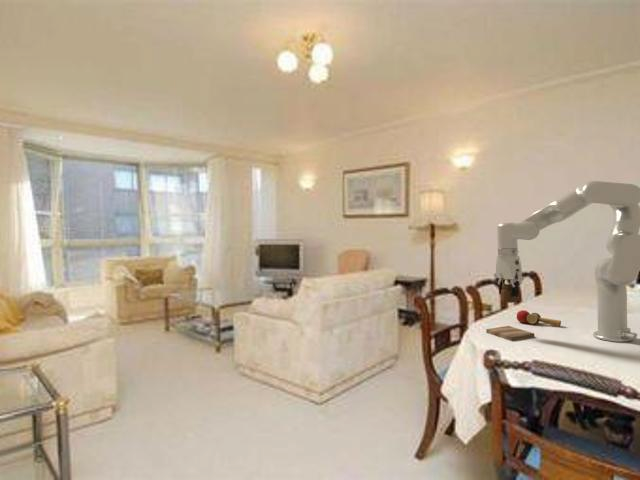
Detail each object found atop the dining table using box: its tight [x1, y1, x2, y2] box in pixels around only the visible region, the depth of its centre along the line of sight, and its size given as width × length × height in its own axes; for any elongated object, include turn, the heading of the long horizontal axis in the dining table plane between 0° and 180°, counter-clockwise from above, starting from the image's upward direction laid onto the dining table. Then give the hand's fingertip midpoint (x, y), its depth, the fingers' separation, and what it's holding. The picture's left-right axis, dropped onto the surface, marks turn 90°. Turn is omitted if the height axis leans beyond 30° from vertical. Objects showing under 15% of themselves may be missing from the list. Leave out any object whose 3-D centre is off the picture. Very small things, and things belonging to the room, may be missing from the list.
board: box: [485, 325, 535, 342], centre depth 170 cm, size 14×12×2 cm
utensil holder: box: [500, 274, 518, 304], centre depth 169 cm, size 6×6×12 cm
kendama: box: [516, 309, 562, 328], centre depth 185 cm, size 8×6×18 cm
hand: (508, 294), depth 169 cm, fingers closed on utensil holder, 5 cm apart
